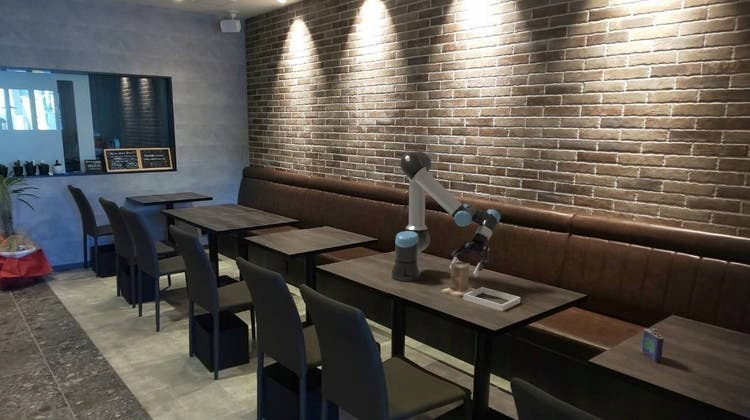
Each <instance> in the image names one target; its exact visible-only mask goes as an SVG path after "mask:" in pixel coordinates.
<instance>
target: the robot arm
mask: <svg viewBox="0 0 750 420" xmlns="http://www.w3.org/2000/svg"><path fill="white" fill-rule="evenodd" d="M399 166H400V168H401V169H400V170H401V171H402V172H403V174H404V175H405V176H406V178H407V179H408V184H409V185H408V197H409V198H408V225H407V226H406V227H405V231H400V232H399V233H398V232H397V234H396V236H395V240H394V241H395V248H394V251H395V253H394V264H393V266H392V270H391V272H390V277H391V279H393V280H394V281H395V280H396V281H400V282H416V281H418V280H420V279H421V273H420V270H419V265H418V258H419V257H418V256H419V255H418V254H419V253H421V252H423V251H425V250H426V249H427V248H428V246H429V245H430V242H431V238H430V234H429V233H428V227H427V225H426V224H425V223H426V221H425V220H426V218H425V217H426V193H427V194H428V195H429V196H430V197H431V198H432V199H433V200H434V201H435V202H437V204H438V205H440V207H441V208H443V209H444V210H445V211H446V212H447V213H448V214H449V215H450V216H451V217H452V218H453V219H454V223H455V224H456V225H457V226H458V227H467V226H469V225H470V224H475V225H478V227H477V229H476V231H475V233H474V234H473V236H472V237H471V241H470V242H467V241H463V243H462V244H461V245H460V246H459V247H457V248H456V249H454V251H453V252H452V253H451V256H452V257H453V258H452V260H451V262H450V263H453V262H456V261H459V259H460V258H462V257H464V256H465V255H468V254H471V253H472V254H476V255H477V254H478V257H479V261H480V262H478V263H477V265H476V268H475V269H474V271H473V273H472V274H473V276H474V277H475V278H477V277H478V275H479V273H480V272H481V271H482V270H483V268H484V266H489V265H490V250H491V249H490V246H488V245H487V244H489V241H490V238H491V237H492V235H493V233H494V231H495V230H496V228H497V226H498V224H499V222H500V220H501V214H500V212H498V210H495V209H491V208H490V209H488V210H487V211H485V210H482V209H479V208H477V207H475V206H473V205H470V204H467V203H464V204H462V203H461V202H460V201H459V200H458V199H457V197H455V196H454V195H453V194H451V192H449V190H447V189H446V187H445V186H443V185H442V184H441V183H440V182H439V181H438V180H437V179H435V177H434V176H432V174H431V173H429V170H431V167H432V159H431V157H430V155H429V154H427V153H426V152H424V151H410V152H407V153H405V154H403V156H402V157H401V158H400V163H399ZM483 251H484V257H483V253H482V252H483ZM449 269H450V270H451V264H450V265H449Z"/></svg>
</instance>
